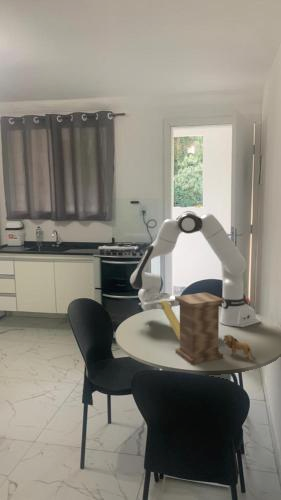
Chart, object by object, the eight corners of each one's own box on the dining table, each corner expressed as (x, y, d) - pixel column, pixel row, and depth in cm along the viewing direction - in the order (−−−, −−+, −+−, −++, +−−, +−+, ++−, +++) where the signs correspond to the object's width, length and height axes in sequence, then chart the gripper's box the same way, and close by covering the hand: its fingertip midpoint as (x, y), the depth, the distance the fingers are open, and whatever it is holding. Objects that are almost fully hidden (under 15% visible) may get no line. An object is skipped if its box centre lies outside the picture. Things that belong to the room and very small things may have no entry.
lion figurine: (221, 355, 173) (221, 335, 172) (226, 351, 177) (226, 332, 176) (254, 362, 165) (254, 342, 163) (258, 358, 169) (258, 338, 168)
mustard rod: (165, 304, 205) (166, 300, 203) (185, 339, 187) (186, 335, 186) (160, 305, 203) (161, 301, 202) (179, 340, 186) (181, 336, 184)
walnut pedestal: (205, 346, 183) (205, 292, 180) (223, 357, 170) (223, 299, 167) (175, 352, 177) (174, 296, 173) (191, 364, 164) (191, 304, 161)
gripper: (137, 297, 208) (147, 303, 196) (171, 293, 216) (183, 298, 204) (137, 308, 209) (148, 316, 197) (171, 304, 217) (183, 310, 205)
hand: (166, 307), depth 200 cm, fingers closed on mustard rod, 3 cm apart
